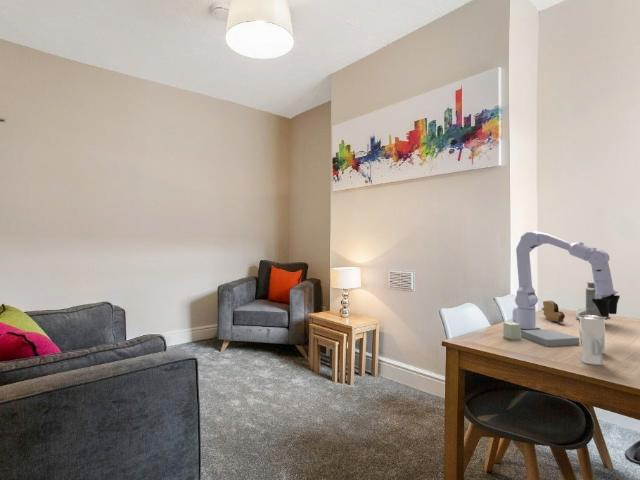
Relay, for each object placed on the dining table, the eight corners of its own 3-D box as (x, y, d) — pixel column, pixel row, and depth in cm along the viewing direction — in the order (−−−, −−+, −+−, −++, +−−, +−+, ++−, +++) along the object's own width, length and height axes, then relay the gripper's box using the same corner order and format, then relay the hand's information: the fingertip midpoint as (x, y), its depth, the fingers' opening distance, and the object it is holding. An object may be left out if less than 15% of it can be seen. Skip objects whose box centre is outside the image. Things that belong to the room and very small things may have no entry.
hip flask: (593, 328, 163) (593, 284, 163) (582, 326, 167) (582, 283, 166) (601, 322, 174) (601, 281, 174) (591, 321, 177) (591, 280, 177)
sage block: (503, 336, 152) (503, 322, 152) (513, 336, 153) (513, 321, 153) (510, 339, 148) (510, 325, 148) (520, 339, 148) (520, 324, 148)
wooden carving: (569, 325, 170) (568, 303, 170) (559, 325, 170) (559, 304, 170) (547, 317, 186) (547, 297, 186) (538, 317, 186) (538, 298, 186)
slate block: (521, 337, 152) (521, 330, 152) (550, 335, 154) (550, 328, 154) (547, 347, 138) (547, 339, 138) (579, 345, 140) (579, 337, 140)
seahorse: (597, 321, 173) (613, 310, 183) (570, 309, 181) (588, 299, 192) (593, 330, 175) (610, 319, 185) (567, 318, 183) (585, 308, 194)
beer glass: (573, 359, 124) (573, 315, 124) (593, 358, 124) (592, 314, 124) (590, 366, 117) (590, 319, 117) (610, 365, 117) (610, 319, 117)
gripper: (607, 281, 137) (614, 318, 135) (622, 278, 145) (628, 313, 143) (586, 282, 143) (592, 317, 141) (601, 279, 151) (607, 312, 149)
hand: (609, 315), depth 143 cm, fingers open, 7 cm apart
